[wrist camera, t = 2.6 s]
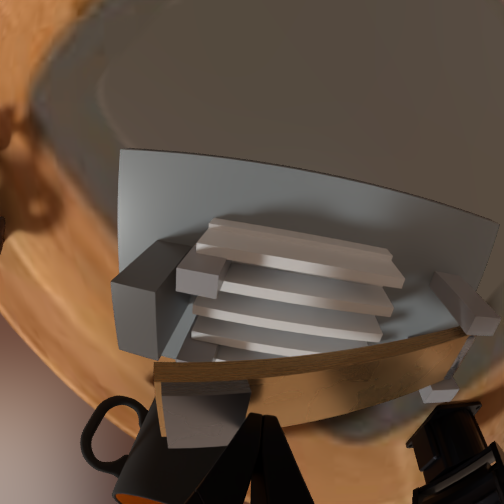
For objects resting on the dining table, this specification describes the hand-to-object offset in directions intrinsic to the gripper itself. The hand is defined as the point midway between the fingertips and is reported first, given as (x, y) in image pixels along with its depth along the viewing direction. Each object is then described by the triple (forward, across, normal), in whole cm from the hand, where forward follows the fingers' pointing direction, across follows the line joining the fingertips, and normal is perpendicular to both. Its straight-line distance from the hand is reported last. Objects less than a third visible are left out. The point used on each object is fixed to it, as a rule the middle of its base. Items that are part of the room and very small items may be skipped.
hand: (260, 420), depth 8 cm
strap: (+3, -3, 0) cm, 4 cm away
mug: (+10, +5, +13) cm, 17 cm away
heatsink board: (+9, -2, 0) cm, 10 cm away
